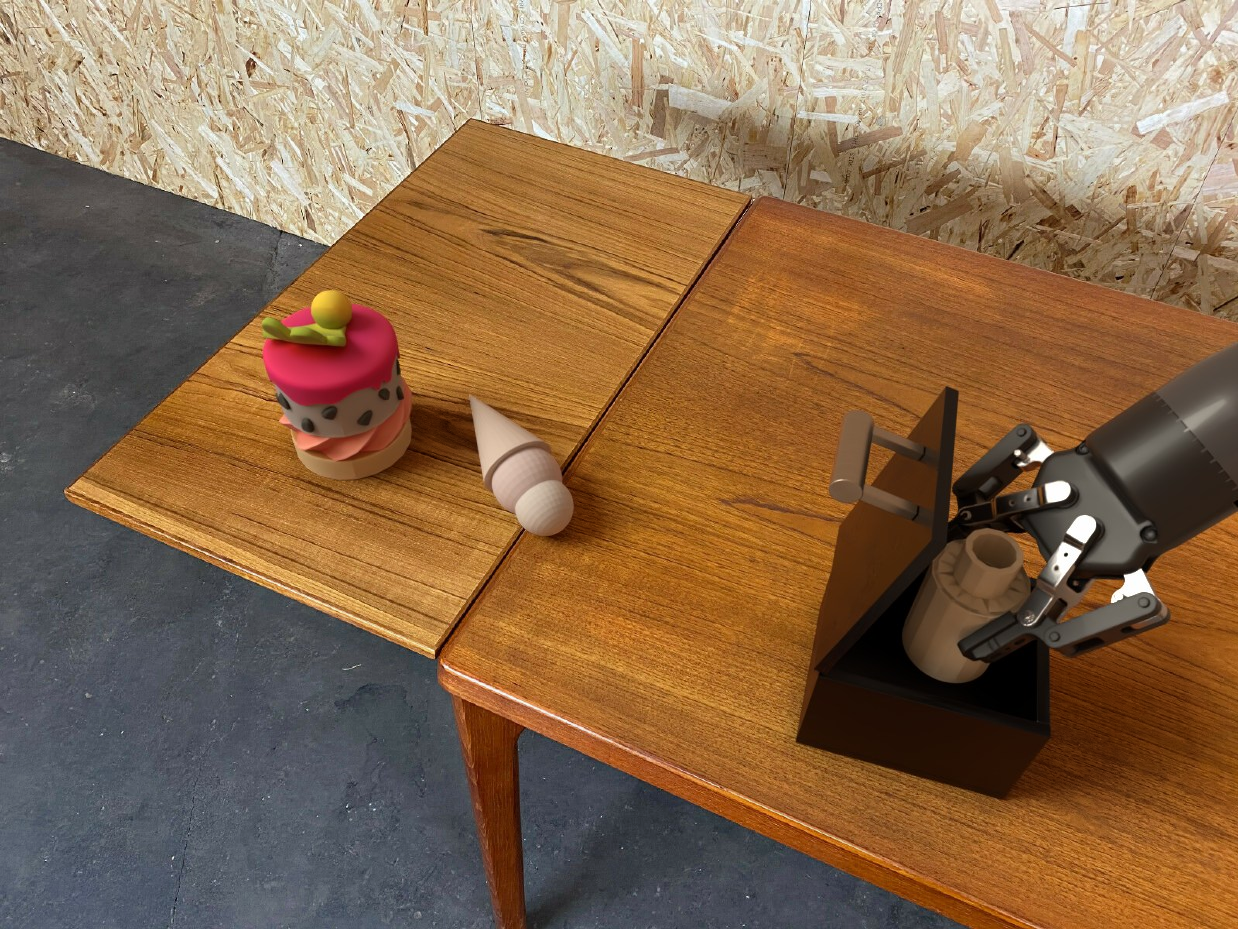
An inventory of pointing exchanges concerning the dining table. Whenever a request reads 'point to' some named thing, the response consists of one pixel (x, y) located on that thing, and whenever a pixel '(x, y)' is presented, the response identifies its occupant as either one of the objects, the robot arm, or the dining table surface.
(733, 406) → the dining table surface
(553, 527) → the ice cream cone
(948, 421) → the bin lid
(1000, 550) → the bottle
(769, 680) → the dining table surface
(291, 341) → the cake
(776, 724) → the dining table surface
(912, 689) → the bin
